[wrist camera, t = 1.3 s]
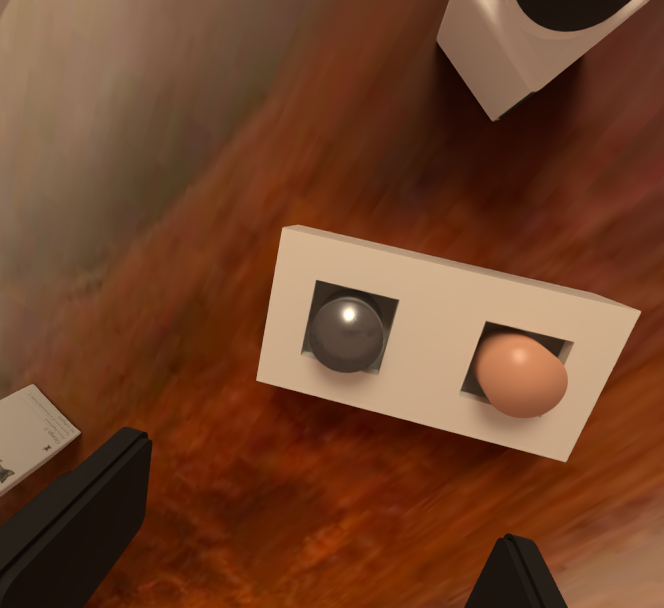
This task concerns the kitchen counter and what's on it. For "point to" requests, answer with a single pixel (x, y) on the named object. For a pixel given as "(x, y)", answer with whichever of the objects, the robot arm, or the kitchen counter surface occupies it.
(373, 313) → the charcoal button
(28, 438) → the supplement box
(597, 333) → the button console
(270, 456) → the kitchen counter surface
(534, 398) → the light brown rounded piece
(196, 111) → the kitchen counter surface
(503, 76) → the medicine bottle
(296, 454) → the kitchen counter surface
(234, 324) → the kitchen counter surface
